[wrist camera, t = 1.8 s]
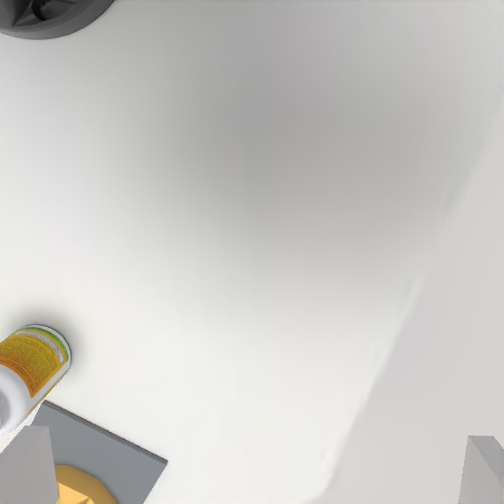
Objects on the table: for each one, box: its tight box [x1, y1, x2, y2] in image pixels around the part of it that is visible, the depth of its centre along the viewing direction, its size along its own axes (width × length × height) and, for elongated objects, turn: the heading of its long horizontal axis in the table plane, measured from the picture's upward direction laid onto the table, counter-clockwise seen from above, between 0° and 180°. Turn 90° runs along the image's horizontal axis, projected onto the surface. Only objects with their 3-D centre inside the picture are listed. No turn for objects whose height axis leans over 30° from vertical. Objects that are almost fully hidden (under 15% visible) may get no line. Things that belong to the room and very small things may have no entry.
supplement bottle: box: [0, 325, 71, 435], centre depth 31 cm, size 5×5×10 cm
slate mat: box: [31, 400, 168, 504], centre depth 38 cm, size 12×16×1 cm
